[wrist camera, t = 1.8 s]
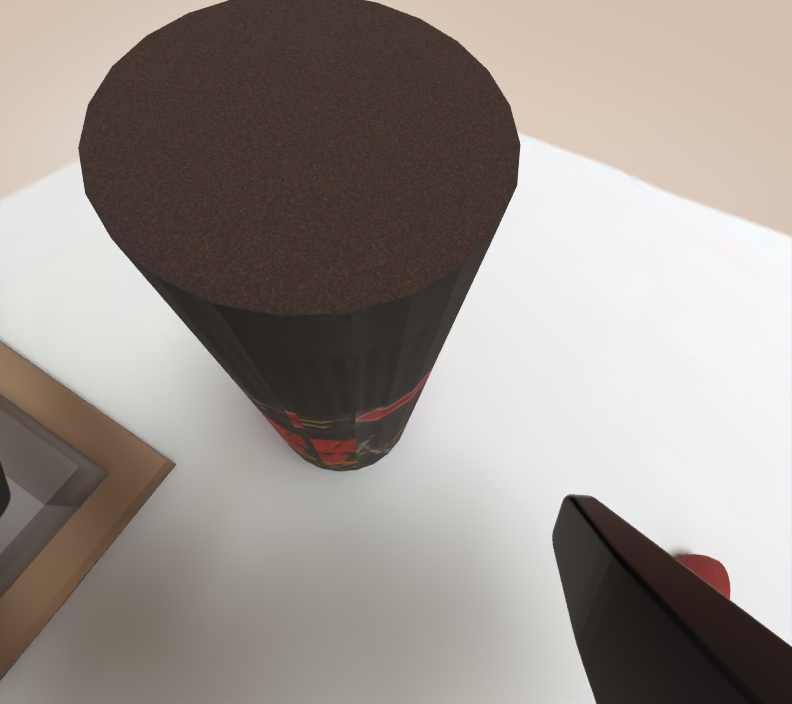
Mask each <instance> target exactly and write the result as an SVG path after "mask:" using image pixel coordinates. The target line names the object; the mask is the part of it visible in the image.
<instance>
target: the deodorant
mask: <svg viewBox="0 0 792 704" xmlns="http://www.w3.org/2000/svg"><path fill="white" fill-rule="evenodd" d="M78 149H79V156H80V162H81V169H82V175H83V182H84V188H85V194H86V196H87V197H88V199H89V201H90V203H91V204H92V206H93V208H94V209H95V211H96V213H97V215H98V216H99V218H100V220H101V221H102V223H103V225H104V227H105V228H106V230H107V232H108V233H109V235H110V237H111V238H112V240H113V241H114V242H115V243H116V244H117V245H118V247H119V248H120V249H121V250H122V251H123V252H124V254H125V255H126V256H127V257H128V258H129V259H130V261H131V262H132V263H133V264H134V265H135V266H136V268H137V269H138V270H139V271H140V272H141V273H142V274H143V276H144V277H145V278H146V279H147V280H148V281H149V283H150V284H151V285H152V286H153V287H154V288H155V290H156V291H157V292H158V293H159V294H160V295H161V297H162V298H163V299H164V300H165V301H166V302H167V303H168V305H169V306H170V307H171V308H172V309H173V310H174V312H175V313H176V314H177V315H178V316H179V317H180V319H181V320H182V321H183V322H184V323H185V324H186V326H187V327H188V328H189V329H190V330H191V331H192V333H193V334H194V335H195V336H196V337H197V338H198V339H199V341H200V342H201V343H202V344H203V345H204V346H205V348H206V349H207V350H208V351H209V352H210V353H211V355H212V356H213V357H214V358H215V359H216V360H217V362H218V363H219V364H220V365H221V366H222V367H223V369H224V370H225V371H226V372H227V373H228V374H229V375H230V377H231V378H232V379H233V380H234V381H235V382H236V384H237V385H238V386H239V387H240V388H241V389H242V391H243V392H244V393H245V394H246V395H247V396H248V398H249V399H250V400H251V401H252V402H253V403H254V404H255V406H256V407H257V408H258V409H259V410H260V411H261V413H262V414H263V415H264V416H265V417H266V418H267V420H268V421H269V422H270V423H271V424H272V425H273V427H274V428H275V429H276V430H277V431H278V432H279V434H280V435H281V436H282V437H283V438H284V439H285V440H286V442H287V443H288V444H289V445H290V446H291V447H292V449H293V450H295V451H296V452H297V453H298V454H299V455H300V456H301V457H302V458H304V459H305V460H306V461H308V462H310V463H312V464H314V465H316V466H318V467H320V468H324V469H329V470H335V471H348V470H358V469H360V468H363V467H366V466H368V465H371V464H374V463H375V462H377V461H378V460H379V459H381V458H382V457H384V456H385V455H387V454H388V453H389V452H390V451H391V449H392V448H393V447H394V446H395V444H396V443H397V442H398V441H399V439H400V437H401V435H402V433H403V431H404V429H405V426H406V424H407V422H408V420H409V418H410V416H411V414H412V411H413V409H414V407H415V405H416V403H417V401H418V398H419V396H420V394H421V392H422V390H423V388H424V386H425V383H426V381H427V379H428V377H429V375H430V373H431V371H432V368H433V366H434V364H435V362H436V360H437V358H438V355H439V353H440V351H441V349H442V347H443V345H444V343H445V340H446V338H447V336H448V334H449V332H450V330H451V327H452V325H453V323H454V321H455V319H456V317H457V315H458V312H459V310H460V308H461V306H462V304H463V302H464V299H465V297H466V295H467V293H468V291H469V289H470V287H471V284H472V282H473V280H474V278H475V276H476V274H477V272H478V269H479V267H480V265H481V263H482V261H483V259H484V256H485V254H486V252H487V250H488V248H489V246H490V244H491V241H492V239H493V237H494V235H495V233H496V231H497V228H498V226H499V224H500V222H501V220H502V218H503V215H504V213H505V211H506V209H507V207H508V204H509V202H510V200H511V198H512V196H513V193H514V191H515V189H516V187H517V180H518V167H519V155H520V141H519V137H518V134H517V130H516V126H515V122H514V118H513V115H512V111H511V107H510V105H509V103H508V101H507V100H506V98H505V97H504V95H503V93H502V92H501V90H500V89H499V87H498V85H497V84H496V82H495V80H494V79H493V77H492V76H491V74H490V72H489V71H488V70H487V69H486V68H485V67H484V66H483V65H482V64H481V63H480V62H479V61H478V60H477V59H476V58H475V57H473V56H472V55H471V54H470V53H469V52H468V51H467V50H466V49H465V48H464V47H463V46H462V45H461V44H460V43H459V42H458V41H456V40H454V39H453V38H451V37H449V36H447V35H446V34H444V33H443V32H441V31H439V30H438V29H436V28H435V27H433V26H431V25H429V24H428V23H426V22H424V21H423V20H421V19H419V18H417V17H414V16H411V15H409V14H406V13H403V12H400V11H398V10H395V9H393V8H390V7H387V6H385V5H382V4H379V3H376V2H371V1H366V0H228V1H226V2H222V3H219V4H216V5H213V6H210V7H207V8H203V9H200V10H197V11H194V12H190V13H188V14H186V15H184V16H182V17H180V18H178V19H177V20H175V21H173V22H171V23H170V24H167V25H166V26H164V27H162V28H160V29H158V30H156V31H155V32H153V33H151V34H149V35H147V36H146V37H145V38H143V40H141V41H140V42H139V43H138V44H137V45H136V46H135V47H133V48H132V49H131V50H130V51H129V52H128V53H127V54H126V55H124V56H123V57H122V58H121V59H120V60H119V61H118V62H117V63H116V64H114V65H113V66H112V67H111V69H110V71H109V72H108V74H107V75H106V77H105V79H104V80H103V82H102V83H101V85H100V87H99V88H98V90H97V91H96V93H95V95H94V96H93V98H92V99H91V101H90V102H89V104H88V108H87V112H86V117H85V121H84V125H83V130H82V134H81V139H80V143H79V147H78Z"/></svg>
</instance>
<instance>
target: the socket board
mask: <svg viewBox="0 0 792 704" xmlns="http://www.w3.org/2000/svg"><path fill="white" fill-rule="evenodd" d="M0 460H1V463H2V466H3V469H4V472H5V476H6V479H7V482H8V485H9V488H10V492H11V499H10V503H9V505H8V507H7V509H6V511H5V512H4V514H3V515H2V516H1V518H0V680H1V679H2V677H3V676H4V675H5V674H6V673H7V671H8V670H9V669H10V668H11V666H12V665H13V664H14V663H15V661H16V660H17V659H18V658H19V657H20V655H21V654H22V653H23V652H24V650H25V649H26V648H27V647H28V645H29V644H30V643H31V642H32V641H33V639H34V638H35V637H36V636H37V634H38V633H39V632H40V631H41V629H42V628H43V627H44V626H45V625H46V623H47V622H48V621H49V620H50V618H51V617H52V616H53V615H54V614H55V612H56V611H57V610H58V609H59V607H60V606H61V605H62V604H63V602H64V601H65V600H66V599H67V598H68V596H69V595H70V594H71V593H72V591H73V590H74V589H75V588H76V586H77V585H78V584H79V583H80V582H81V580H82V579H83V578H84V577H85V575H86V574H87V573H88V572H89V571H90V569H91V568H92V567H93V566H94V564H95V563H96V562H97V561H98V559H99V558H100V557H101V556H102V555H103V553H104V552H105V551H106V550H107V548H108V547H109V546H110V545H111V543H112V542H113V541H114V540H115V539H116V537H117V536H118V535H119V534H120V532H121V531H122V530H123V529H124V528H125V526H126V525H127V524H128V523H129V521H130V520H131V519H132V518H133V516H134V515H135V514H136V513H137V512H138V510H139V509H140V508H141V507H142V505H143V504H144V503H145V502H146V500H147V499H148V498H149V497H150V496H151V494H152V493H153V492H154V491H155V489H156V488H157V487H158V486H159V485H160V483H161V482H162V481H163V480H164V478H165V477H166V476H167V475H168V473H169V472H170V471H171V470H172V469H173V467H174V466H175V465H176V464H175V463H173V462H172V461H170V460H169V459H168V458H166V457H165V456H163V455H162V454H160V453H159V452H158V451H156V450H155V449H153V448H152V447H150V446H149V445H148V444H146V443H145V442H143V441H142V440H140V439H139V438H138V437H136V436H135V435H133V434H132V433H130V432H129V431H128V430H126V429H125V428H123V427H122V426H121V425H119V424H118V423H116V422H115V421H113V420H112V419H111V418H109V417H108V416H106V415H105V414H103V413H102V412H101V411H99V410H98V409H96V408H95V407H93V406H92V405H91V404H89V403H88V402H86V401H85V400H83V399H82V398H81V397H79V396H78V395H76V394H75V393H74V392H72V391H71V390H69V389H68V388H66V387H65V386H64V385H62V384H61V383H59V382H58V381H56V380H55V379H54V378H52V377H51V376H49V375H48V374H46V373H45V372H44V371H42V370H41V369H39V368H38V367H36V366H35V365H34V364H32V363H31V362H29V361H28V360H26V359H25V358H24V357H22V356H21V355H19V354H18V353H17V352H15V351H14V350H12V349H11V348H9V347H8V346H7V345H5V344H4V343H2V342H1V341H0Z"/></svg>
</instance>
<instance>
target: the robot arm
mask: <svg viewBox="0 0 792 704" xmlns="http://www.w3.org/2000/svg"><path fill="white" fill-rule="evenodd" d="M10 499H11V492H10V488H9V485H8V482H7V479H6V476H5V472H4V469H3V466H2V463H1V460H0V518H1V516H2V515H3V514H4V512H5V511H6V509H7V507H8V505H9V503H10ZM552 542H553V548H554V553H555V557H556V561H557V565H558V569H559V574H560V578H561V582H562V586H563V591H564V595H565V599H566V603H567V608H568V612H569V616H570V620H571V625H572V629H573V632H574V636H575V640H576V644H577V647H578V650H579V653H580V656H581V659H582V663H583V665H584V668H585V671H586V674H587V677H588V680H589V683H590V686H591V689H592V692H593V695H594V698H595V701H596V704H792V646H790V645H789V644H788V643H786V642H785V641H784V640H782V639H781V638H780V637H778V636H777V635H776V634H774V633H773V632H772V631H770V630H769V629H768V628H767V627H765V626H764V625H763V624H761V623H760V622H759V621H757V620H756V619H755V618H753V617H752V616H751V615H749V614H748V613H747V612H745V611H744V610H743V609H741V608H740V607H739V606H737V605H736V604H735V603H733V602H732V601H731V600H729V599H728V598H727V597H725V596H724V595H723V594H721V593H720V592H719V591H718V590H716V589H715V588H714V587H712V586H711V585H710V584H708V583H707V582H706V581H704V580H703V579H702V578H700V577H699V576H698V575H696V574H695V573H694V572H692V571H691V570H690V569H688V568H687V567H686V566H684V565H683V564H682V563H680V562H679V561H678V560H676V559H675V558H674V557H673V556H671V555H670V554H669V553H667V552H666V551H665V550H663V549H662V548H661V547H659V546H658V545H657V544H655V543H654V542H653V541H651V540H650V539H649V538H647V537H646V536H645V535H643V534H642V533H641V532H639V531H638V530H637V529H635V528H634V527H633V526H631V525H630V524H629V523H627V522H626V521H625V520H624V519H622V518H621V517H620V516H618V515H617V514H616V513H614V512H613V511H612V510H610V509H609V508H608V507H606V506H605V505H604V504H602V503H601V502H600V501H598V500H597V499H596V498H594V497H592V496H588V495H574V494H570V495H567V496H566V497H565V498H564V500H563V502H562V505H561V508H560V511H559V514H558V517H557V520H556V523H555V526H554V530H553V535H552Z"/></svg>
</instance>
